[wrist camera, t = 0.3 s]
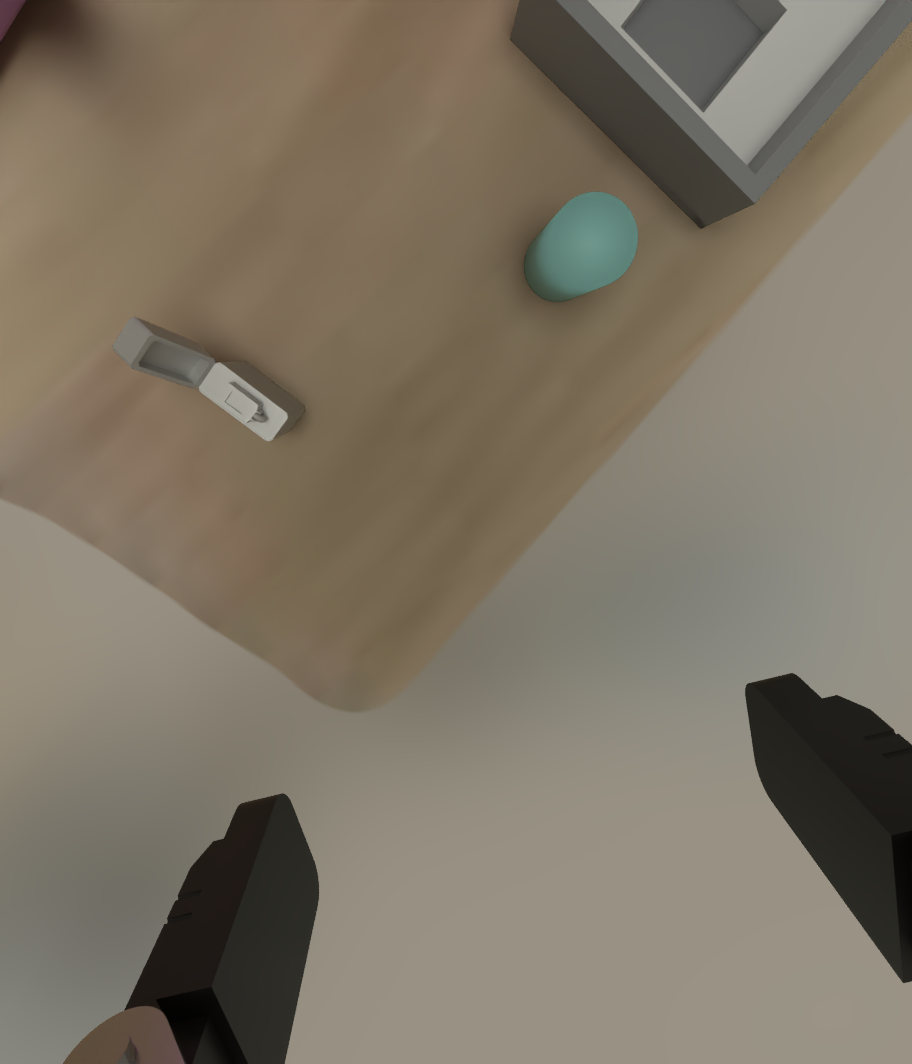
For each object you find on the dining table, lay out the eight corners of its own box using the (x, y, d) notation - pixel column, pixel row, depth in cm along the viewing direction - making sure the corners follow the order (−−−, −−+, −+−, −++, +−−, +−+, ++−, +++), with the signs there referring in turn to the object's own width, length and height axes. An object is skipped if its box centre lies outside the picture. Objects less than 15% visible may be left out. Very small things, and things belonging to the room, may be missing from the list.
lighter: (306, 407, 36) (271, 423, 28) (288, 432, 36) (248, 455, 29) (195, 322, 35) (125, 314, 27) (177, 349, 35) (103, 349, 27)
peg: (523, 229, 34) (549, 193, 26) (593, 226, 34) (639, 189, 26) (524, 303, 35) (549, 290, 27) (592, 300, 35) (636, 286, 27)
